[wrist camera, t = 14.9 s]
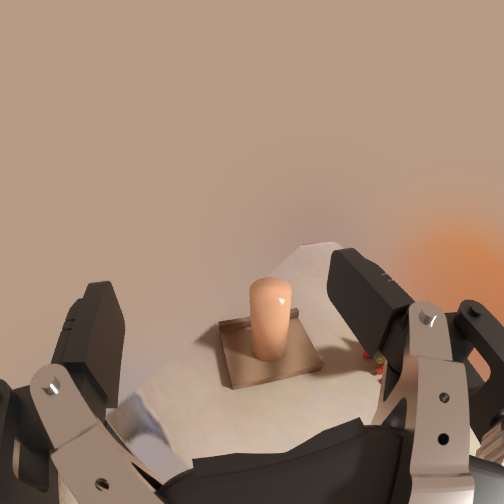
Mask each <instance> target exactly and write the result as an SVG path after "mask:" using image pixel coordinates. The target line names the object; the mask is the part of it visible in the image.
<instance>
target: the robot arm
mask: <svg viewBox="0 0 504 504" xmlns="http://www.w3.org/2000/svg"><path fill="white" fill-rule="evenodd" d="M327 293H328V297H329V299H330V301H331V302H332V303H333V305H334V306H335V308H336V309H337V311H338V312H339V313H340V315H341V316H342V318H343V319H344V320H345V322H346V323H347V325H348V326H349V328H350V329H351V330H352V332H353V333H354V335H355V336H356V338H357V339H358V341H359V342H360V344H361V345H362V346H363V348H364V349H365V351H366V352H367V354H368V355H369V357H370V358H371V360H374V359H377V358H380V357H382V356H384V357H385V359H386V361H385V363H384V366H383V374H382V382H381V389H380V396H379V402H378V407H377V411H376V413H375V416H374V418H373V420H372V423H371V425H363V423H362V421H361V419H360V417H359V418H356V419H354V420H351V421H349V422H346V423H344V424H341V425H338V426H335V427H333V428H330V429H327V430H324V431H322V432H320V433H319V434H317V435H316V436H314V437H312V438H311V439H309V440H307V441H306V442H304V443H302V444H300V445H299V446H297V447H295V448H293V449H291V450H290V451H287V452H285V453H273V454H250V453H233V454H227V455H221V456H214V457H206V458H197V459H192V461H193V467H194V468H192V469H189V470H186V471H184V472H182V473H180V474H178V475H176V476H175V477H173V478H171V479H170V480H169V481H167V482H166V483H165V484H164V483H163V482H162V481H161V480H160V479H159V478H158V477H157V476H156V475H155V474H154V473H153V472H152V471H150V469H148V468H147V467H146V466H145V465H144V464H143V463H142V462H141V461H140V460H139V459H138V458H137V456H136V455H135V454H134V453H133V452H132V451H131V449H130V448H129V447H128V446H127V445H126V443H125V442H124V441H123V440H122V439H121V437H120V436H119V435H118V434H117V432H116V431H115V430H114V428H113V427H112V426H111V424H110V423H109V422H108V420H107V419H106V418H105V414H106V408H117V406H118V390H119V378H120V367H121V359H122V349H123V343H124V335H125V322H124V317H123V314H122V311H121V309H120V306H119V303H118V300H117V298H116V295H115V292H114V289H113V287H112V284H111V282H110V281H102V282H94V283H89V284H88V286H87V289H86V291H85V294H84V296H83V298H81V299H78V300H77V301H76V302H75V303H74V304H73V306H72V307H71V308H70V309H69V312H68V314H67V317H66V322H64V325H63V328H62V331H61V333H60V336H59V339H58V342H57V345H56V348H55V352H54V355H53V358H52V361H51V364H49V365H46V366H44V367H42V368H40V369H39V370H38V371H37V372H36V373H35V374H34V376H33V378H32V380H31V383H30V385H28V386H25V387H21V388H18V389H14V390H12V389H11V387H10V386H9V385H8V384H7V383H6V382H5V381H4V380H1V379H0V504H59V492H58V472H59V474H60V475H61V477H62V479H63V480H64V482H65V484H66V485H67V487H68V488H69V490H70V491H71V493H72V495H73V496H74V498H75V499H76V500H77V502H78V503H79V504H504V327H503V326H502V325H501V324H500V323H499V322H498V320H497V319H496V318H495V317H494V316H493V315H492V314H491V313H490V312H489V311H488V310H487V309H486V308H485V307H484V306H483V305H482V304H480V303H479V302H476V301H474V300H464V301H463V302H461V304H460V306H459V308H458V310H457V312H454V313H443V311H442V310H441V309H440V308H439V307H437V306H436V305H434V304H432V303H429V302H425V301H418V302H415V301H414V300H413V299H412V298H411V297H410V296H409V295H408V294H407V293H406V292H405V291H404V290H403V289H402V288H401V287H400V286H399V285H398V284H397V283H396V282H395V281H392V278H391V277H390V276H389V275H387V274H386V273H385V271H384V270H382V269H381V268H380V267H379V266H378V265H377V264H375V263H373V262H371V261H370V260H367V259H365V258H364V257H363V256H362V255H361V254H360V253H359V252H357V251H356V250H355V249H354V248H347V249H340V250H335V251H333V253H332V255H331V261H330V268H329V274H328V281H327ZM474 347H475V348H476V349H477V351H478V352H479V353H480V354H481V356H482V357H483V358H484V360H485V361H486V362H487V363H488V365H489V367H490V370H491V374H490V378H489V379H488V380H487V382H486V383H485V382H484V381H483V379H482V378H481V377H480V375H479V374H478V373H477V371H476V370H475V369H474V367H473V366H472V365H471V363H470V362H469V361H468V359H467V358H468V356H469V354H470V353H471V352H472V350H473V348H474ZM470 427H471V429H472V430H473V432H474V434H475V435H476V437H477V439H478V441H479V442H480V444H481V447H480V448H479V449H478V450H477V451H476V457H475V456H471V455H469V444H470Z"/></svg>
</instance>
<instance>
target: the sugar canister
mask: <svg viewBox="0 0 504 504" xmlns="http://www.w3.org/2000/svg"><path fill="white" fill-rule="evenodd" d="M291 294H292V289H291V286H290V285H289V284H288V283H287V282H286V281H284V280H282V279H279V278H272V277H269V278H262V279H259V280H257V281H255V282H254V283H253V284H252V285H251V286H250V317H251V344H252V353H253V355H254V356H255V357H256V358H257V359H259V360H261V361H264V362H274V361H277V360H279V359H281V358H282V357H283V356H284V355H285V353H286V349H287V339H288V328H289V317H290V306H291Z"/></svg>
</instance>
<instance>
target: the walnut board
mask: <svg viewBox="0 0 504 504" xmlns="http://www.w3.org/2000/svg"><path fill="white" fill-rule="evenodd" d="M298 315H299V311H298V309H297V308H294V309H290V317H289V328H288V339H287V349H286V353H285V355H284V356H283V357H282V358H281V359H279V360H277V361H274V362H264V361H261V360H259V359H257V358H256V357H255V356H254V355H253V353H252V344H251V317H245V318H239V319H233V320H227V321H220V322H218V323H219V330H220V336H221V341H222V345H223V350H224V354H225V359H226V363H227V368H228V372H229V376H230V380H231V385H232V389H238V388H244V387H249V386H254V385H259V384H264V383H268V382H273V381H277V380H281V379H286V378H290V377H294V376H298V375H301V374H305V373H309V372H312V371H316V370H320V369H321V368H322V364H323V363H322V361H321V359H320V357H319V355H318V354H317V352H316V350H315V348H314V346H313V344H312V342H311V341H310V339H309V337H308V335H307V333H306V331H305V329H304V328H303V326H302V324H301V322H300V320H299V318H298Z"/></svg>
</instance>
